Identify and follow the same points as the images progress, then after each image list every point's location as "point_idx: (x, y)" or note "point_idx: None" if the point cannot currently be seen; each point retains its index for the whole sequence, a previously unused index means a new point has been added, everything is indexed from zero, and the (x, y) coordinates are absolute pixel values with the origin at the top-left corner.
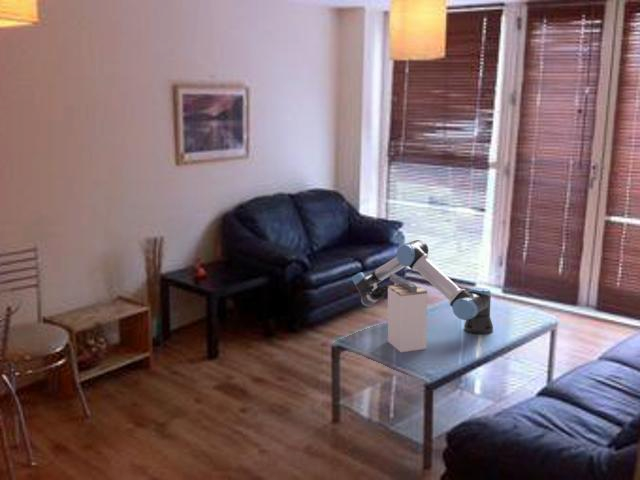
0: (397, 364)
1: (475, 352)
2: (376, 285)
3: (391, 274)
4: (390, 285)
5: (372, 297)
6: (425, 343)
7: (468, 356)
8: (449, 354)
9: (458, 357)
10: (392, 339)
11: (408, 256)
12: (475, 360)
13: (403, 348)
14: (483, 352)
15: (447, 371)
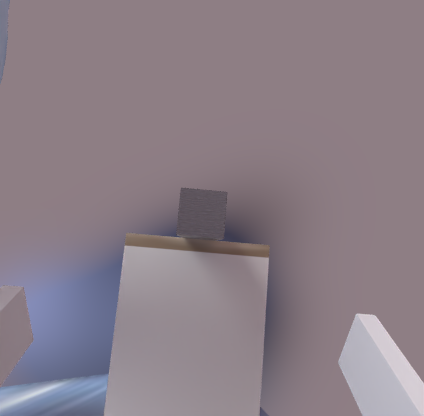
0: (261, 412)
1: (30, 398)
2: (350, 343)
3: (214, 192)
4: (254, 244)
5: None
6: None
7: (71, 391)
8: (100, 410)
9: (97, 394)
10: None
11: (3, 10)
12: (80, 377)
13: None
14: (14, 393)
15: None
